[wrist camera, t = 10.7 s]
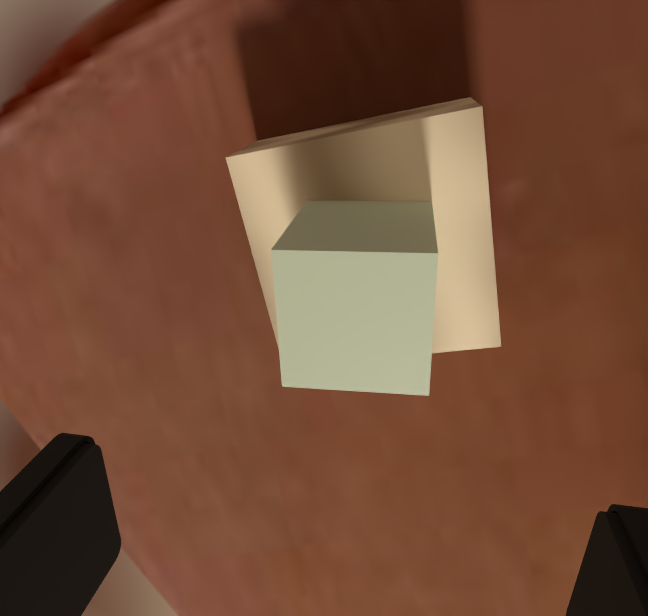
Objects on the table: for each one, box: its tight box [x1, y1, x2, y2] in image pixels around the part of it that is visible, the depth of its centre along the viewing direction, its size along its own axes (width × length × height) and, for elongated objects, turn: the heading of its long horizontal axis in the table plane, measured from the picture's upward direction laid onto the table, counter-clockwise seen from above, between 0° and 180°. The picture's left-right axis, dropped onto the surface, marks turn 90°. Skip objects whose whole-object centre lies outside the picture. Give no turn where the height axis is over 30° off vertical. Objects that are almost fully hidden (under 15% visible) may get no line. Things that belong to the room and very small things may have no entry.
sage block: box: [271, 200, 438, 396], centre depth 19 cm, size 5×5×6 cm
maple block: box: [226, 97, 501, 353], centre depth 24 cm, size 10×10×5 cm
